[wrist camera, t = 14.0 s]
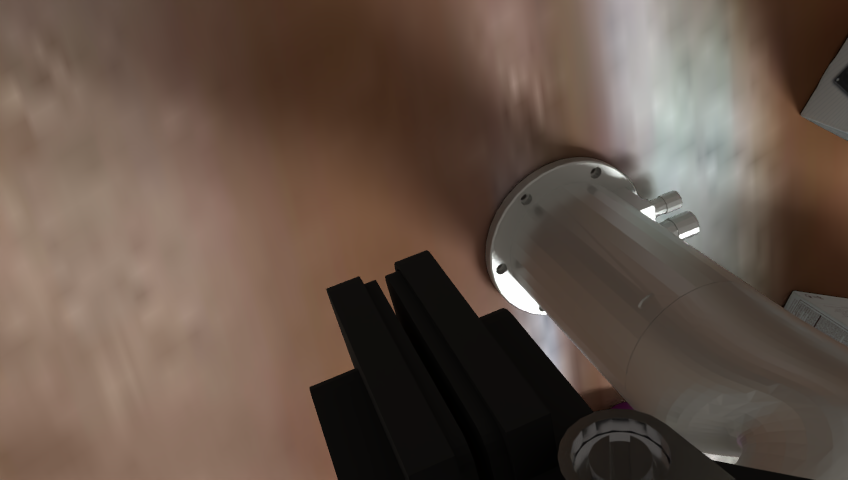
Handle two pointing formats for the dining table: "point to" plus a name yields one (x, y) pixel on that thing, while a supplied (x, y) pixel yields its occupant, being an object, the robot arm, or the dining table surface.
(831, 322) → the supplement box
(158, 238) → the dining table surface
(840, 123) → the hard drive box
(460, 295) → the robot arm
